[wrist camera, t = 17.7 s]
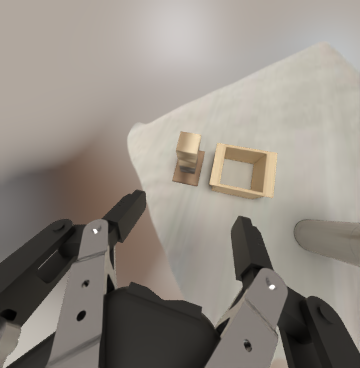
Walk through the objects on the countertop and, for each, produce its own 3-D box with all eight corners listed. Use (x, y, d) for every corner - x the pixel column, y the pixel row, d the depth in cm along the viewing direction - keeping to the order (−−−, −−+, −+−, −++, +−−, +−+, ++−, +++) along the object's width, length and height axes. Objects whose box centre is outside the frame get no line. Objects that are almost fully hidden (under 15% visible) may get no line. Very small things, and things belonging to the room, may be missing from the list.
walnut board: (204, 153, 48) (204, 151, 46) (197, 186, 45) (197, 185, 44) (181, 149, 49) (180, 147, 47) (173, 181, 46) (172, 180, 45)
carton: (262, 163, 45) (277, 153, 37) (257, 200, 43) (273, 197, 35) (212, 154, 47) (217, 142, 40) (205, 189, 45) (209, 184, 37)
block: (197, 161, 46) (201, 134, 30) (194, 174, 45) (196, 153, 29) (183, 158, 46) (180, 131, 31) (180, 171, 45) (175, 150, 30)
